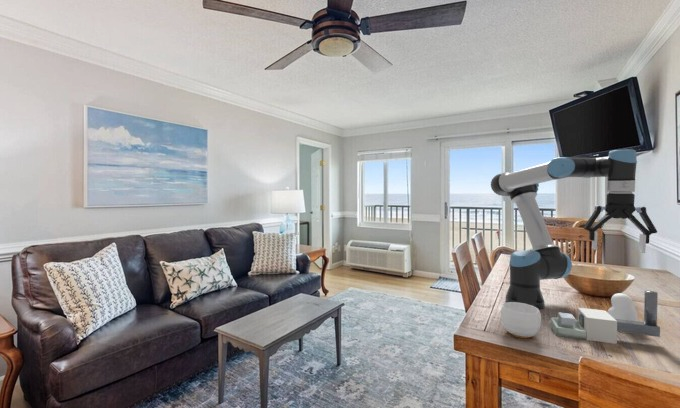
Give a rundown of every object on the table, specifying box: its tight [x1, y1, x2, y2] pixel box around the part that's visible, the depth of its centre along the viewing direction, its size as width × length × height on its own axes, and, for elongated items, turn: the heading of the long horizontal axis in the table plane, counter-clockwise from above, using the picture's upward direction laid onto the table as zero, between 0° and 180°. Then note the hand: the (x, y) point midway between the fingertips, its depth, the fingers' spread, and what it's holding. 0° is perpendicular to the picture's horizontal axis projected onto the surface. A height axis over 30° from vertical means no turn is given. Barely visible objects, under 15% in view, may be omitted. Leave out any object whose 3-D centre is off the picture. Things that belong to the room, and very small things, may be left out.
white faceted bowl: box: [500, 302, 542, 339], centre depth 108 cm, size 12×12×10 cm
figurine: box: [607, 292, 638, 321], centre depth 114 cm, size 7×8×12 cm
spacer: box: [557, 311, 576, 329], centre depth 110 cm, size 5×5×4 cm
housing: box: [577, 307, 618, 345], centre depth 107 cm, size 8×10×8 cm
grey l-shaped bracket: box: [579, 289, 661, 338], centre depth 104 cm, size 20×3×14 cm, turn 66°
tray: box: [549, 316, 586, 341], centre depth 110 cm, size 8×10×3 cm
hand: (617, 250), depth 113 cm, fingers open, 13 cm apart
